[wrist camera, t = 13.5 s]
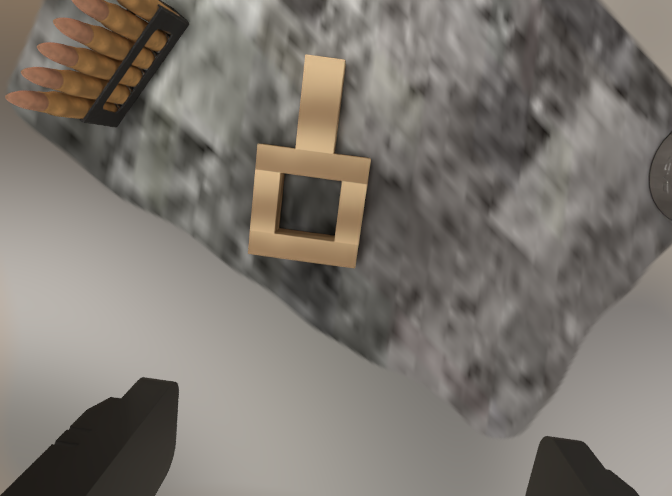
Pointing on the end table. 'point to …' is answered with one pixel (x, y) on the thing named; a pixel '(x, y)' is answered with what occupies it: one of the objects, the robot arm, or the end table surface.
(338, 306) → the end table surface
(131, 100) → the ammunition clip
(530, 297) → the end table surface
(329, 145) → the oak link
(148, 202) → the end table surface
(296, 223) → the end table surface
